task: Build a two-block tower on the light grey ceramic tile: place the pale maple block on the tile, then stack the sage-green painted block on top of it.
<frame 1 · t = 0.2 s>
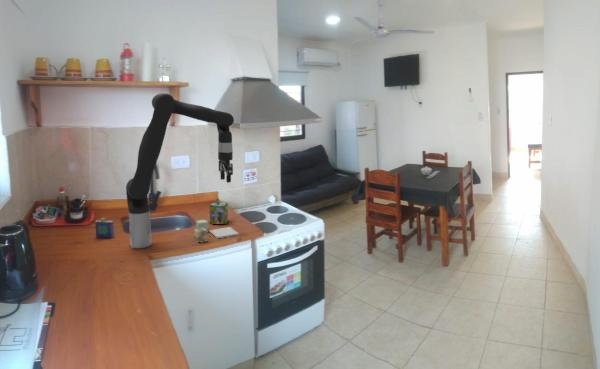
hand: (225, 180, 197), 28 cm above the worktop, tool pointing down, fingers open, 8 cm apart
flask: (105, 238, 188), on the worktop
tile: (223, 233, 198), on the worktop
chalk box: (219, 223, 217), on the worktop
sage block: (202, 231, 200), on the worktop
maple block: (200, 240, 187), on the worktop
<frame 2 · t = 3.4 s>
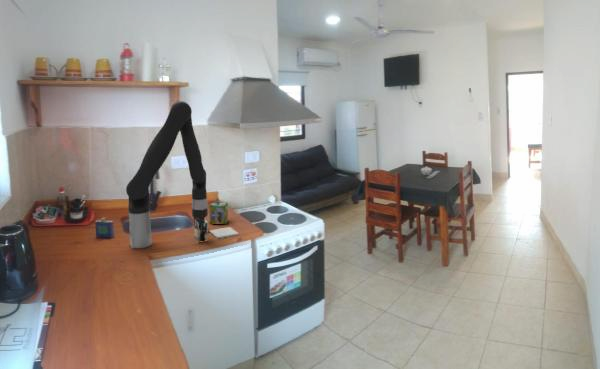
hand: (200, 239, 187), 1 cm above the worktop, tool pointing down, fingers closed on maple block, 5 cm apart
maple block: (200, 240, 187), on the worktop, touching gripper
everything else where it was.
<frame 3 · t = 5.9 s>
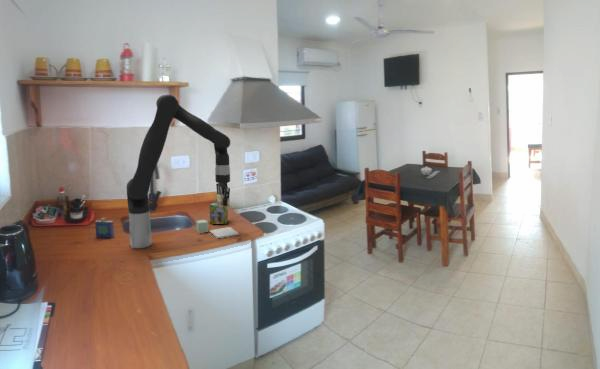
hand: (223, 204, 194), 17 cm above the worktop, tool pointing down, fingers closed on maple block, 5 cm apart
maple block: (223, 206, 195), point 16 cm above the worktop, touching gripper
everything else where it was.
when the fingers open (3 cm above the worktop, at t = 8.7 s): maple block stays where it is, resting on tile.
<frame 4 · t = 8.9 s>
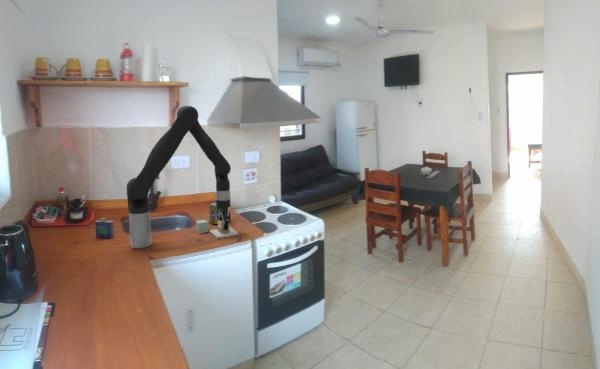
hand: (223, 228, 197), 3 cm above the worktop, tool pointing down, fingers open, 6 cm apart
maple block: (223, 231, 198), point 1 cm above the worktop, touching tile
everything else where it was.
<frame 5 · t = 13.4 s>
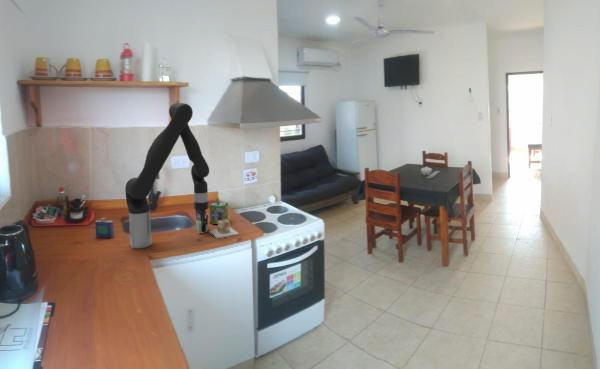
hand: (202, 230, 200), 1 cm above the worktop, tool pointing down, fingers closed on sage block, 5 cm apart
sage block: (202, 231, 200), on the worktop, touching gripper
everything else where it was.
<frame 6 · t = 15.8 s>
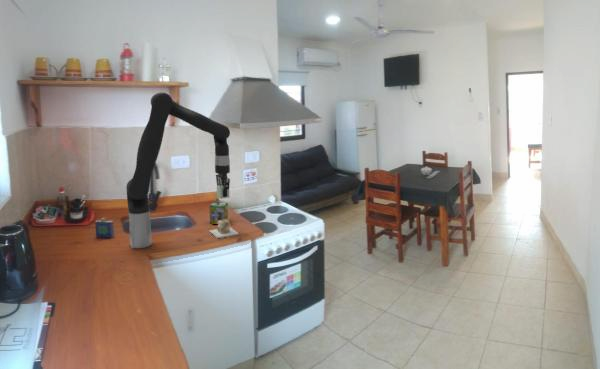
hand: (223, 195, 193), 21 cm above the worktop, tool pointing down, fingers closed on sage block, 5 cm apart
sage block: (223, 197, 194), point 20 cm above the worktop, touching gripper
everything else where it was.
when the fingers open (9 cm above the worktop, at t = 18.5 s): sage block stays where it is, resting on maple block.
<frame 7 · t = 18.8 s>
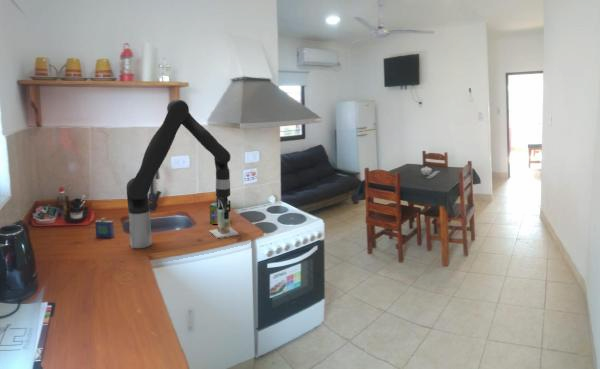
hand: (223, 216, 196), 10 cm above the worktop, tool pointing down, fingers open, 7 cm apart
sage block: (223, 221, 196), point 7 cm above the worktop, touching maple block
maple block: (223, 231, 198), point 1 cm above the worktop, touching sage block, tile
everything else where it was.
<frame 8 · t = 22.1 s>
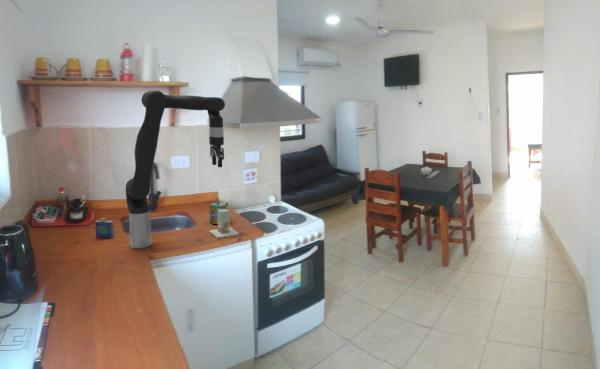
hand: (217, 166, 197), 36 cm above the worktop, tool pointing down, fingers open, 8 cm apart
nothing on the worktop moved.
at the end: maple block inside the target area on the tile (0.0 cm from its centre), point 1.2 cm above the tile's base; sage block 0.0 cm off-centre on the maple block, point 6.0 cm above the maple block's base; sage block tilted 0° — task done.
